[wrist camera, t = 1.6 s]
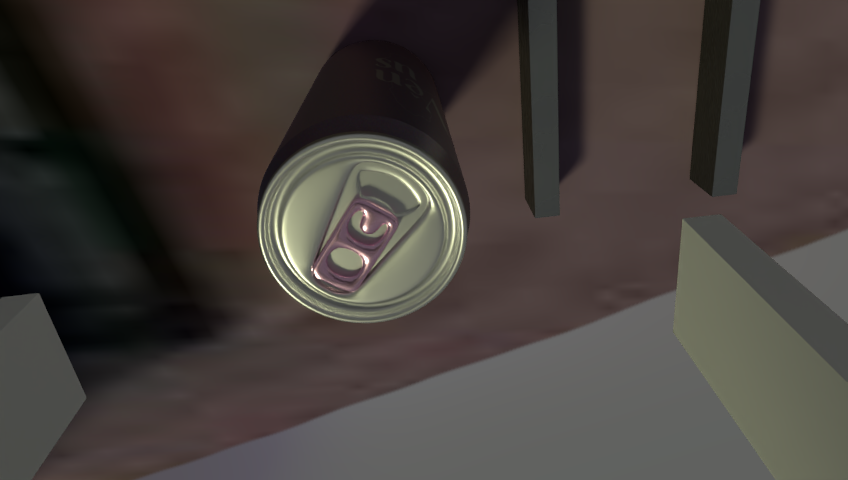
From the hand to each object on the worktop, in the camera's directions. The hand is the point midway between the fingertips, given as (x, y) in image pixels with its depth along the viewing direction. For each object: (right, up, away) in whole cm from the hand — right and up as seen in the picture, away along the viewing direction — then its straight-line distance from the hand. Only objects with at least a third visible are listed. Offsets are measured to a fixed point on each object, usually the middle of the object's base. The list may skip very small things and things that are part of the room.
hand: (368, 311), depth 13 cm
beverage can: (-1, +8, +17) cm, 19 cm away
